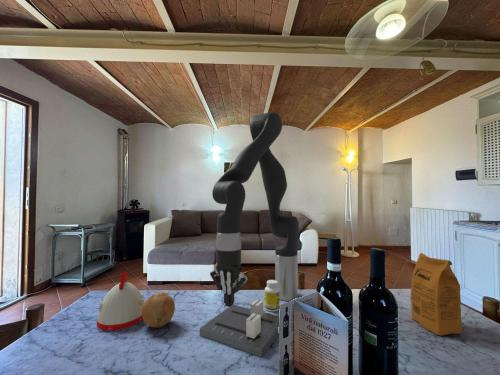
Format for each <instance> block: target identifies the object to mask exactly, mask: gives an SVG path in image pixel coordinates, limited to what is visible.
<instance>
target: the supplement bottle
mask: <svg viewBox="0 0 500 375" xmlns="http://www.w3.org/2000/svg"><path fill="white" fill-rule="evenodd" d="M277 286H278V282H277V281H276V280H275V279H269V280H267V281H266V287H264V309H265V311H268V312H270V313H271V312H272V313H275V312H278V311H280V299H279V297H280V291H279V288H278V287H277Z"/></svg>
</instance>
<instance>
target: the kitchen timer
mask: <svg viewBox="0 0 500 375" xmlns="http://www.w3.org/2000/svg"><path fill="white" fill-rule="evenodd" d="M144 303H145V298H144V293H143V292H142V293H141V292H140V291H139V289H138V288H137V287H136V286H135V285H134V284H133V283H131V282H128V272H127V270H126V271H123V272H122V273H121V276H120V279H119V283H117V284H116V285H114V286H113V287H112V288H111V289H110V290H108V292H107V294H106V295H105V296H104V297H103V298H102V299H101V302H100V303H99V306H98V313H97V317H96V326H97V328H98V329H100V330H103V331H117V330H122V329H126V328H130V327H133V326H134V325H137V324H138V323H140V322H141V321H142V320H143V318H142V308H143V305H144Z"/></svg>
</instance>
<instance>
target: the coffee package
mask: <svg viewBox="0 0 500 375" xmlns="http://www.w3.org/2000/svg"><path fill="white" fill-rule="evenodd" d="M452 265H453V263H452V261H451V260H450V259H449V260H448V259H441V258H434V257H430V256H428V255H426V254H425V253H423V252H420V253H419V254H418V258H417V260H416V262H415V267H414V269H413V273H412V277H411V287H410V303H411V304H410V305H411V307H410V308H411V320H413V321H414V322H417V323H419V325H420V326H421V327H422V328H423V329H425V330H427V331H429V332H431V333H433V334H435V335H438V336H445V335H450V334H454V335H455V334H460V333H463V327H462V308H461V306H462V305H461V304H462V299H461V298H462V297H461V284H460V283H459V280H458V279H457V276H456V275H455V273H454V271H453V270H452V267H451V266H452Z"/></svg>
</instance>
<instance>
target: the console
mask: <svg viewBox="0 0 500 375" xmlns="http://www.w3.org/2000/svg"><path fill="white" fill-rule="evenodd" d="M249 316H251V308H247V307H244V306H240V305H236V304H233V305H232V306H231V307H226V309H225V310H223V311H222V312H220V313H219V314H217V315H216V316H215V317H213V318H212V319H210V320H209V321H208V322H206V323H205V324H203V325H202V326H201V327H200V328H199V336H200V337H203V338H206V339H209V340H212V341H214V342H217V343H220V344H223V345H225V346H229V347H230V348H233V349H237V350H240V351H242V352H246V353H248V354H251V355H252V356H253V355H254V356H257V357H260V358H262V357H263V356H264V355H265V354H266V352H267V351H268V349H269V348H270V347H271V345H272V344H273V342H274V341H275V339H276V338H277V337H278V336H279V334H278V327H279V316H280V315H275V314H272V313H267V312H265V311H263V316H262V317H261V332H260V333H259V334H258V335H257V336H256V337H255V338H251V337H248V336H246V319H247V318H248V317H249Z"/></svg>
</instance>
